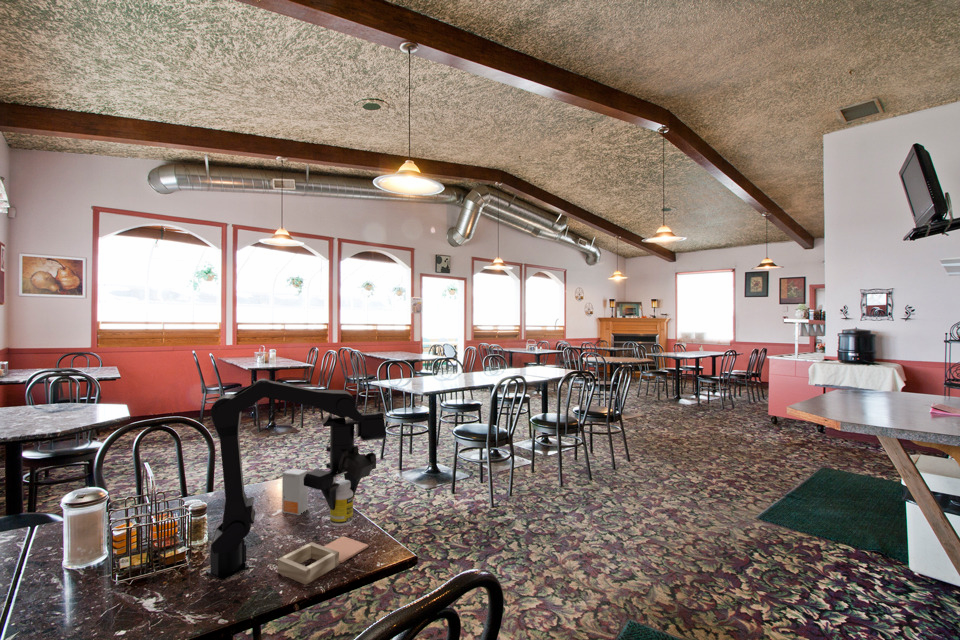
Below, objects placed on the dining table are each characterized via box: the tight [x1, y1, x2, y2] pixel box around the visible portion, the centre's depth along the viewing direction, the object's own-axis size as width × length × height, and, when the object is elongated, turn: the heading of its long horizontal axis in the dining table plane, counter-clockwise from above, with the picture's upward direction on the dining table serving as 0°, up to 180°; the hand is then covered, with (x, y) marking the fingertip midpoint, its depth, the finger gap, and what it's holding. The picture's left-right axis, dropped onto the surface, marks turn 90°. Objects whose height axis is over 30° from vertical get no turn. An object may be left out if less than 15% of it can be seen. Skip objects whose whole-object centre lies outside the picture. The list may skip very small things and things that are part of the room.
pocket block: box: [277, 541, 340, 585], centre depth 107 cm, size 9×9×3 cm
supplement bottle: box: [329, 479, 354, 527], centre depth 116 cm, size 5×5×10 cm
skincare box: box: [281, 468, 309, 516], centre depth 139 cm, size 6×4×12 cm
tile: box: [324, 535, 369, 564], centre depth 116 cm, size 9×9×1 cm
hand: (341, 505), depth 116 cm, fingers closed on supplement bottle, 5 cm apart
